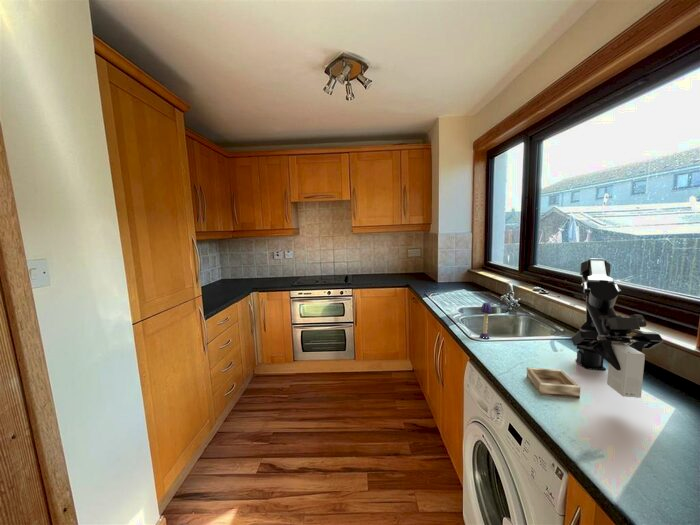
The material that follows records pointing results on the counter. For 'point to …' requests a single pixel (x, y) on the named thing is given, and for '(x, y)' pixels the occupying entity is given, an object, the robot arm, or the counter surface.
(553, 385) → the wooden tray
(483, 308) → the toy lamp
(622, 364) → the skincare box
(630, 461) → the counter surface
